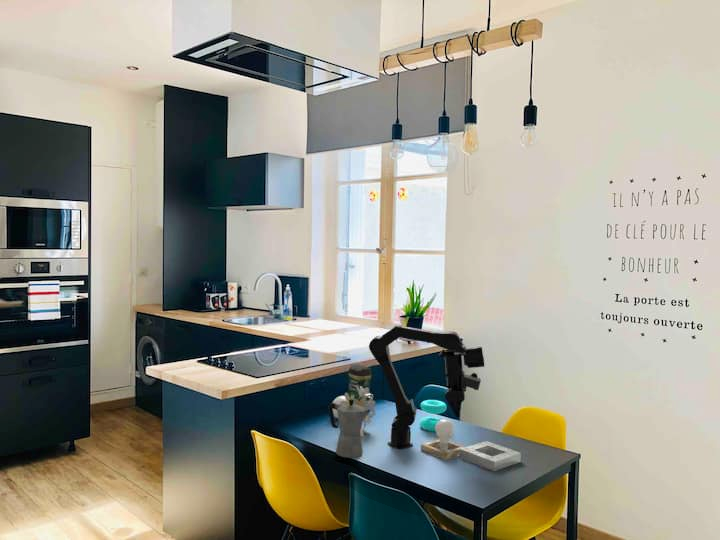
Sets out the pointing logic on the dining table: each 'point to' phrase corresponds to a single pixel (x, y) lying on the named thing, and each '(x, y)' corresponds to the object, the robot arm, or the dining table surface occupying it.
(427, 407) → the donuts
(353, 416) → the coffeepot
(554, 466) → the dining table surface
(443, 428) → the lightbulb
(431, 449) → the wooden picture frame
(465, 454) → the socket
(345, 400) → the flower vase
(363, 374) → the coffee jar
